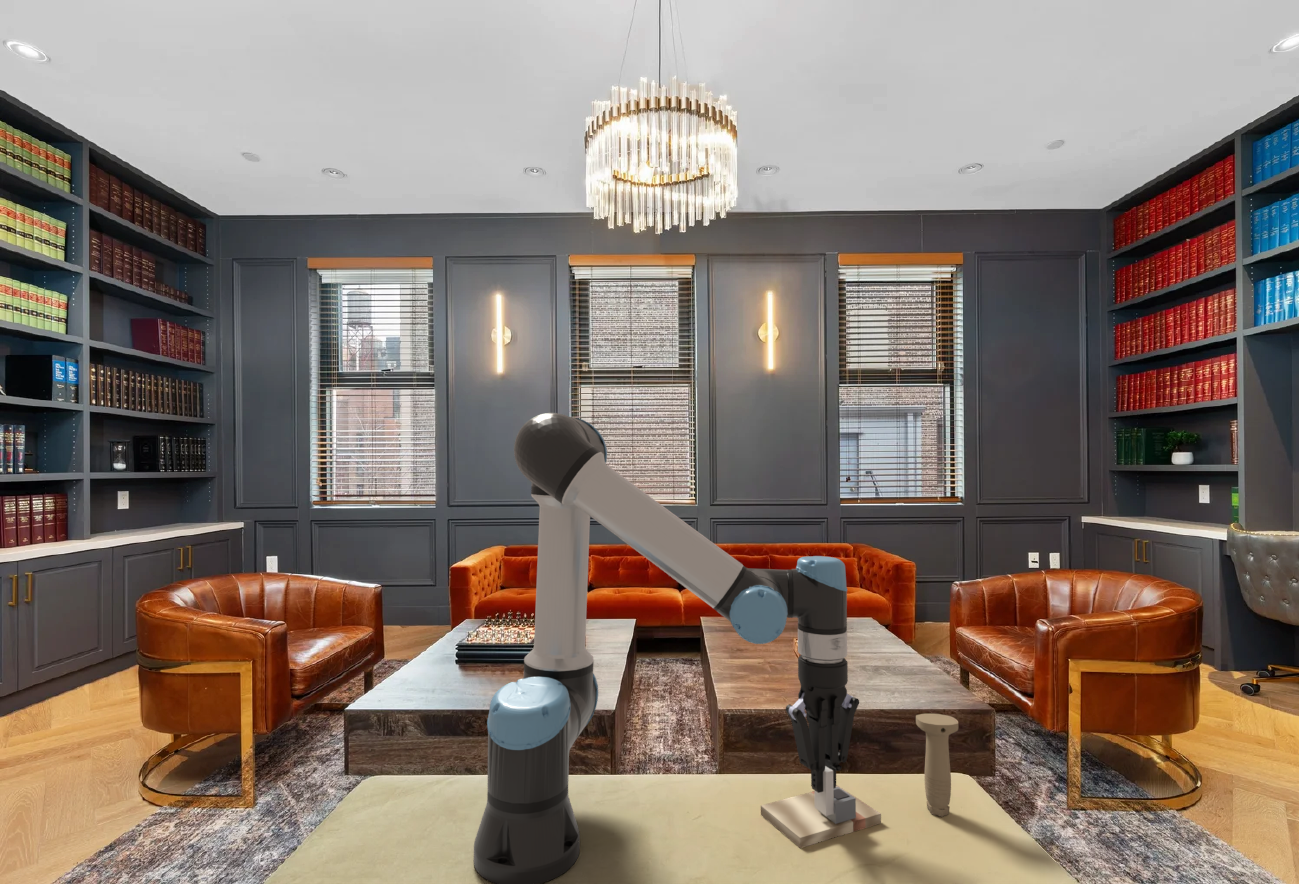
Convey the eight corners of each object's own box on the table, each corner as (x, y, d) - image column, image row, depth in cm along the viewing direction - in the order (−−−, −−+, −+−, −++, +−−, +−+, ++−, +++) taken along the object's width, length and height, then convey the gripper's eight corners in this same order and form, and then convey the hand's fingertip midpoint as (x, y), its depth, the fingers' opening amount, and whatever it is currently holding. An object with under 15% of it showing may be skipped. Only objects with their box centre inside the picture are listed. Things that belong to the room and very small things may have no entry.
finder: (835, 823, 97) (835, 802, 97) (818, 810, 100) (818, 790, 101) (855, 817, 99) (855, 797, 99) (837, 805, 102) (837, 785, 102)
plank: (800, 848, 94) (800, 837, 94) (760, 814, 103) (760, 805, 103) (881, 823, 100) (880, 813, 100) (837, 793, 109) (837, 784, 109)
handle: (964, 820, 101) (963, 725, 102) (924, 819, 101) (923, 724, 102) (951, 804, 106) (950, 713, 107) (912, 804, 106) (911, 713, 107)
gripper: (804, 668, 93) (806, 833, 92) (871, 658, 99) (873, 812, 98) (774, 655, 100) (775, 808, 99) (838, 645, 105) (839, 790, 104)
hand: (824, 810), depth 98 cm, fingers closed
